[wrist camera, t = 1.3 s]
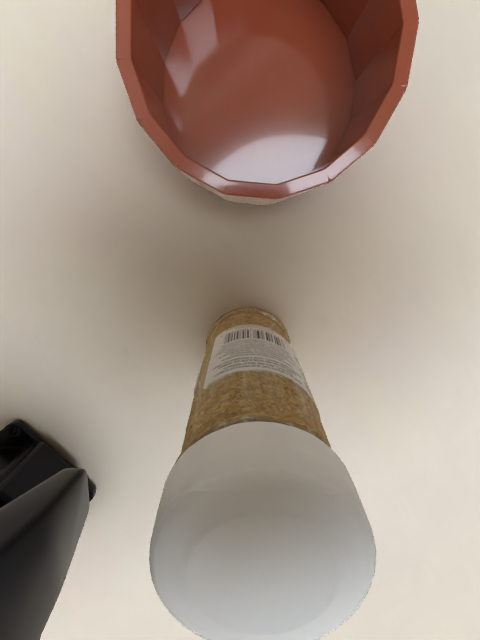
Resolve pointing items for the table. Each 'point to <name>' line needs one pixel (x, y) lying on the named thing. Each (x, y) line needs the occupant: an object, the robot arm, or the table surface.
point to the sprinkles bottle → (258, 500)
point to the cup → (264, 86)
